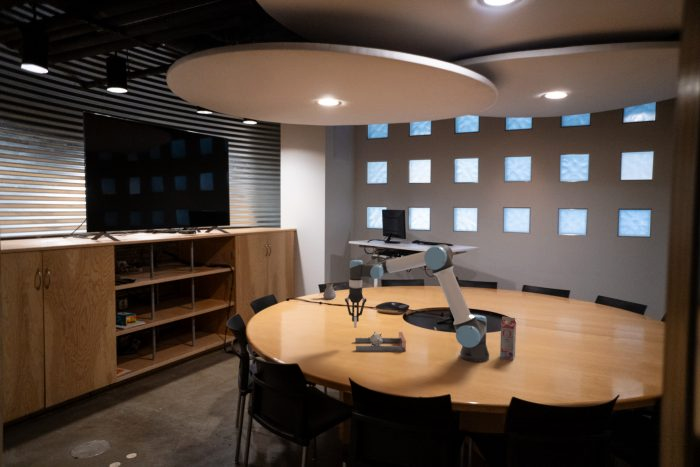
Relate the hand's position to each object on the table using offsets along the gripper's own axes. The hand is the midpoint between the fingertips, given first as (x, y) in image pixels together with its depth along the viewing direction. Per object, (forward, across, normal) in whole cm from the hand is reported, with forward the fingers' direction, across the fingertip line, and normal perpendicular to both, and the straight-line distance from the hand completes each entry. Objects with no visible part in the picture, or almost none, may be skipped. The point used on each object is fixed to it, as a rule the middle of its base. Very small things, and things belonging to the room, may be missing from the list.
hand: (355, 327), depth 255 cm
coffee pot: (+13, +16, -129) cm, 130 cm away
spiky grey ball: (+12, -12, 0) cm, 17 cm away
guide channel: (+11, -14, 0) cm, 18 cm away
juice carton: (+11, -82, +18) cm, 85 cm away
